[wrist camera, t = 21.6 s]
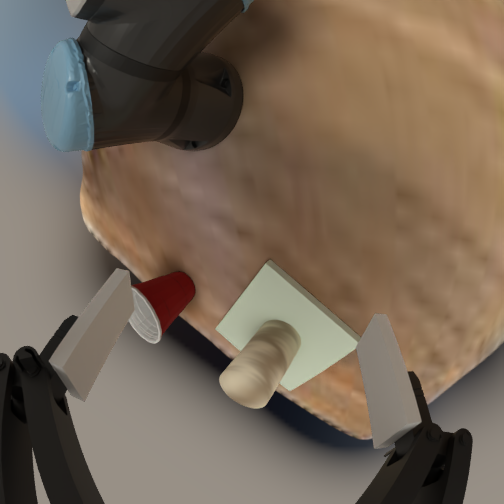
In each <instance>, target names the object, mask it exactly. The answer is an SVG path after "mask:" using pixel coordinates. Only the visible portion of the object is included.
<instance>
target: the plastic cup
mask: <svg viewBox="0 0 504 504" xmlns="http://www.w3.org/2000/svg"><path fill="white" fill-rule="evenodd" d="M131 288H132V295H133V301H134V307H135V310H134V312H133V313H132V315H131V317H130V318H129V320H128V321H129V322H130V324H131V325H132V327H133V328H134V330H135V331H137V333H138V334H139V335H140V336H141V337H142V338H144V339H145V340H147V341H148V342H150V343H154V344H155V343H157V342H158V341H160V340H161V337H162V335H163V333H164V332H165V330H166V329H167V328H168V327H169V325H170V324H171V323H172V322H173V321H174V320H175V318H176V317H177V316H178V315H179V314H180V313H181V312H182V311H183V309H184V308H185V307H186V305H187V304H188V303H189V302H190V301H191V300H192V299H193V297H194V294H195V286H194V284H193V281H192V280H191V279H190V277H189V276H188V275H186V274H185V273H183V272H180V271H179V272H173V273H170V274H168V275H165V276H161V277H158V278H155V279H152V280H149V281H146V282H143V283H140V284H135V285H131Z"/></svg>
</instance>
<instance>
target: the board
mask: <svg viewBox="0 0 504 504" xmlns="http://www.w3.org/2000/svg"><path fill="white" fill-rule="evenodd" d="M269 320H280V321H284V322H286V323H288V324H290V325H291V326H292V327H294V328H295V329H296V331H297V332H298V334H299V335H300V338H301V346H300V348H299V350H298V352H297V354H296V356H295V357H294V359H293V361H292V363H291V364H290V366H289V368H288V370H287V371H286V373H285V375H284V376H283V378H282V380H281V381H280V384H281V385H282V386H284V387H285V388H286V389H287V390H289V391H291V390H293V389H294V388H296V387H298V386H300V385H301V384H303V383H305V382H306V381H308V380H309V379H311V378H313V377H314V376H316V375H317V374H319V373H321V372H322V371H324V370H325V369H327V368H328V367H330V366H331V365H333V364H334V363H336V362H337V361H339V360H340V359H342V358H343V357H344V356H346V355H347V354H349V353H350V352H351V351H353V350H354V349H356V346H357V344H358V342H359V341H360V339H361V337H360V336H359V335H358V334H357V333H355V332H354V331H353V330H352V329H351V328H350V327H349V326H347V325H346V324H345V323H344V322H343V321H342V320H340V319H339V318H338V317H337V316H336V315H335V314H333V313H332V312H331V311H330V310H329V309H328V308H327V307H325V306H324V305H323V304H322V303H321V302H320V301H318V300H317V299H316V298H315V297H314V296H313V295H311V294H310V293H309V292H308V291H307V290H306V289H304V288H303V287H302V286H301V285H300V284H299V283H297V282H296V281H295V280H294V279H293V278H292V277H290V276H289V275H288V274H287V273H286V272H285V271H283V270H282V269H281V268H280V267H279V266H278V265H276V264H275V263H274V262H273V261H272V260H271V259H270V260H269V261H268V262H266V263H265V265H264V266H263V267H262V269H261V270H260V271H259V273H258V274H257V275H256V277H255V278H254V279H253V281H252V282H251V283H250V284H249V286H248V287H247V288H246V290H245V291H244V292H243V294H242V295H241V296H240V298H239V299H238V300H237V301H236V303H235V304H234V305H233V307H232V308H231V309H230V311H229V312H228V313H227V314H226V316H225V317H224V318H223V320H222V321H221V322H220V323H219V325H218V326H217V327H216V330H217V331H218V332H219V333H220V334H221V335H223V336H224V337H225V338H226V339H227V340H228V341H229V342H230V343H232V344H233V345H234V346H235V347H236V348H237V349H238V350H240V351H241V350H242V349H243V348H244V347H245V346H246V344H247V343H248V342H249V341H250V340H251V338H252V337H253V336H254V335H255V333H256V332H257V331H258V330H259V329H260V327H261V326H262V325H263V324H264V323H265V322H267V321H269Z"/></svg>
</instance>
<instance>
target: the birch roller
mask: <svg viewBox="0 0 504 504" xmlns="http://www.w3.org/2000/svg"><path fill="white" fill-rule="evenodd" d="M300 346H301V338H300V335H299V334H298V332H297V331H296V329H295V328H294V327H292V326H291V325H290V324H288V323H286V322H284V321H280V320H269V321H267V322H265V323H264V324H263V325H262V326H261V327H260V329H259V330H258V331H257V332H256V333H255V335H254V336H253V337H252V338H251V340H250V341H249V342H248V343H247V344H246V346H245V347H244V348H243V349H242V350H241V352H240V353H239V354H238V355H237V356H236V358H235V359H234V360H233V361H232V362H231V364H230V365H229V366H228V367H227V368H226V370H225V371H224V372H223V373H222V374H221V376H220V379H219V381H220V385H221V387H222V389H223V390H224V392H225V393H226V394H227V395H228V396H229V397H230V398H231V399H233V400H234V401H236V402H238V403H239V404H241V405H244V406H246V407H250V408H262V407H264V406H265V405H266V404H267V402H268V401H269V399H270V398H271V396H272V394H273V393H274V391H275V390H276V388H277V386H278V385H279V383H280V381H281V380H282V378H283V376H284V375H285V373H286V371H287V370H288V368H289V366H290V364H291V363H292V361H293V359H294V357H295V356H296V354H297V352H298V350H299V348H300Z"/></svg>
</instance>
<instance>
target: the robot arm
mask: <svg viewBox="0 0 504 504" xmlns="http://www.w3.org/2000/svg"><path fill="white" fill-rule="evenodd" d="M253 1H254V0H66V2H67V6H68V9H69V12H70V14H71V16H72V17H75V18H79V19H84V20H88V22H87V23H86V25H85V27H84V29H83V31H82V32H81V34H80V36H79V37H78V39H77V40H75V39H74V38H69V39H67V40H62V41H60V42H59V43H58V44H57V45H56V46H55V48H53V50H52V51H51V53H50V56H49V58H48V61H47V63H46V67H45V71H44V76H43V82H42V90H41V111H42V119H43V125H44V129H45V132H46V135H47V138H48V140H49V142H50V143H51V145H52V146H53V147H54V148H55V149H57V150H59V151H63V152H70V151H79V150H84V151H90V150H93V149H99V148H105V147H111V146H117V145H124V144H132V143H140V142H148V141H158V142H160V143H163V144H166V145H168V146H171V147H174V148H176V149H180V150H186V151H193V150H203V149H207V148H210V147H212V146H214V145H216V144H218V143H219V142H221V141H222V140H223V139H224V138H225V137H226V136H227V135H228V134H229V133H230V131H231V130H232V129H233V127H234V125H235V124H236V122H237V120H238V117H239V115H240V111H241V107H242V102H243V89H242V84H241V80H240V77H239V75H238V73H237V71H236V70H235V68H234V67H233V66H232V65H231V64H230V63H229V62H228V61H226V60H224V59H223V58H220V57H218V56H215V55H212V54H209V53H203V52H201V51H202V50H203V49H204V48H205V47H206V46H207V45H208V44H209V43H210V42H211V41H212V40H213V39H214V38H215V37H216V36H217V35H218V34H219V33H220V32H221V31H222V30H223V29H224V28H225V27H226V26H227V25H228V24H229V23H230V22H231V21H232V20H233V19H234V18H235V17H237V16H238V15H239V14H240V13H244V12H245V11H246V10H247V9H248V7H249V5H250V4H251V3H252V2H253ZM134 310H135V307H134V301H133V295H132V288H131V282H130V274H129V271H126V270H122V269H118V268H117V269H116V270H115V272H114V273H113V274H112V275H111V276H110V277H109V279H108V280H107V281H106V282H105V284H104V285H103V286H102V287H101V289H100V290H99V291H98V292H97V294H96V295H95V296H94V298H93V299H92V300H91V301H90V303H89V304H88V306H87V307H86V308H85V310H84V311H83V312H82V314H81V315H80V316H79V317H77V316H74V315H72V316H70V317H69V318H67V319H66V320H64V322H63V323H62V324H61V326H60V327H59V329H58V330H57V331H56V333H55V334H54V336H53V337H52V338H51V339H50V341H49V342H48V344H47V345H46V346H45V348H44V349H43V351H42V352H41V354H40V355H38V353H37V351H36V350H35V349H34V348H32V347H30V346H24V347H21V348H20V349H19V350H18V351H16V353H15V355H14V358H13V361H11V359H10V358H9V356H7V355H6V354H4V353H0V504H38V502H37V496H36V490H35V481H34V471H33V457H32V448H33V451H34V455H35V459H36V463H37V466H38V470H39V473H40V476H41V479H42V482H43V485H44V488H45V490H46V493H47V496H48V498H49V501H50V504H104V502H103V499H102V497H101V495H100V494H99V491H98V489H97V487H96V485H95V483H94V480H93V478H92V476H91V473H90V471H89V469H88V466H87V463H86V461H85V458H84V455H83V453H82V450H81V447H80V444H79V441H78V438H77V435H76V432H75V428H74V425H73V422H72V418H71V415H70V411H69V407H68V403H67V399H66V396H65V393H66V391H67V390H68V391H69V392H70V394H71V395H72V396H73V397H76V398H78V399H80V400H82V401H84V402H85V400H86V398H87V396H88V394H89V392H90V390H91V388H92V386H93V384H94V382H95V380H96V378H97V376H98V374H99V372H100V370H101V368H102V367H103V365H104V363H105V361H106V359H107V357H108V355H109V353H110V352H111V350H112V348H113V346H114V345H115V343H116V341H117V339H118V337H119V336H120V334H121V332H122V330H123V329H124V327H125V325H126V323H127V322H128V320H129V318H130V317H131V315H132V313H133V312H134ZM356 350H357V354H358V359H359V364H360V368H361V373H362V378H363V383H364V388H365V394H366V399H367V405H368V411H369V417H370V423H371V430H372V436H373V444H374V449H376V448H384V447H389V446H390V445H391V444H393V443H394V442H395V448H393V449H392V450H391V451H389V452H388V453H386V454H385V455H384V457H386V456H388V455H389V454H390V455H389V457H388V458H387V460H386V461H385V463H384V464H383V466H382V468H381V469H380V471H379V472H378V474H377V475H376V477H375V478H374V479H373V481H372V482H371V484H370V485H369V486H368V488H367V489H366V491H365V492H364V493H363V494H362V496H361V497H360V498H359V500H358V501H357V502H356V503H355V504H463V500H464V495H465V491H466V486H467V480H468V475H469V468H470V461H471V453H472V442H473V441H472V436H471V433H470V432H469V431H468V430H467V429H464V428H462V429H459V430H458V431H456V432H455V433H449V432H443V431H442V430H441V428H440V427H439V426H438V425H437V424H434V423H432V420H431V417H430V413H429V410H428V407H427V403H426V400H425V397H424V393H423V390H422V387H421V384H420V381H419V379H418V377H417V376H416V374H415V373H414V372H413V371H411V372H407V369H406V366H405V363H404V360H403V357H402V354H401V351H400V349H399V346H398V343H397V340H396V337H395V335H394V332H393V329H392V327H391V324H390V322H389V319H388V317H387V314H378V313H375V314H374V316H373V318H372V319H371V321H370V323H369V325H368V327H367V328H366V330H365V332H364V334H363V335H362V337H361V339H360V341H359V342H358V344H357V346H356Z"/></svg>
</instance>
